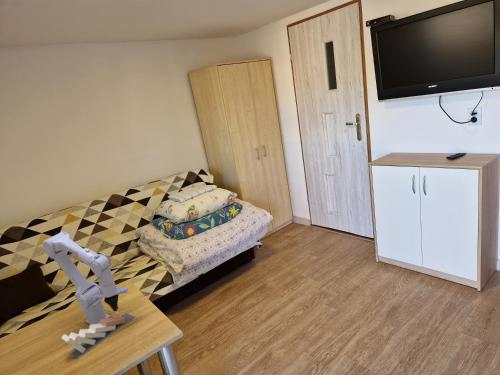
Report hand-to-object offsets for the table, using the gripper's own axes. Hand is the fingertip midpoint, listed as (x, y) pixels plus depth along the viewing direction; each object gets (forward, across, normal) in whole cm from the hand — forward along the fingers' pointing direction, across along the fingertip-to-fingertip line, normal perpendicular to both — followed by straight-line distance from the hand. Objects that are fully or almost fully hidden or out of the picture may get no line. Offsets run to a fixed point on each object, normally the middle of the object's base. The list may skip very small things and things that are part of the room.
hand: (116, 309), depth 151 cm
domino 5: (+6, -1, -1) cm, 6 cm away
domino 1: (+6, +12, +13) cm, 19 cm away
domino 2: (+6, +9, +10) cm, 15 cm away
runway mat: (+7, +5, +6) cm, 11 cm away
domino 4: (+6, +2, +3) cm, 7 cm away
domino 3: (+6, +6, +6) cm, 10 cm away
